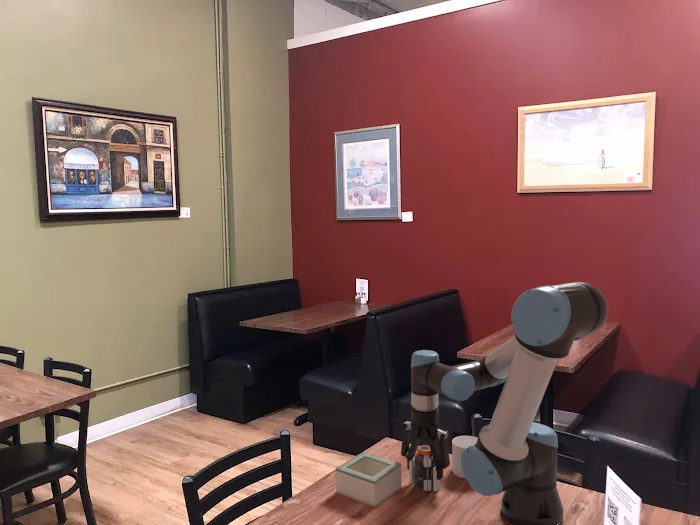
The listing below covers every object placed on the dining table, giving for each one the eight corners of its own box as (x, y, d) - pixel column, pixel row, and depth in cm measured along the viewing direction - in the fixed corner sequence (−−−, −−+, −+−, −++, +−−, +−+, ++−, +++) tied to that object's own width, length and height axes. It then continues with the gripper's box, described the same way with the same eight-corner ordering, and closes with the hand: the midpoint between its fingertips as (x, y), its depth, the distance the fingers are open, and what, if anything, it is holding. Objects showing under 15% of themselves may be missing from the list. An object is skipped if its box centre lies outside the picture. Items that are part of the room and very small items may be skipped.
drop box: (401, 487, 161) (401, 463, 160) (374, 507, 151) (374, 481, 150) (364, 474, 169) (363, 451, 168) (336, 492, 159) (335, 468, 158)
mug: (485, 480, 165) (486, 448, 164) (453, 479, 165) (453, 448, 164) (479, 461, 177) (479, 431, 176) (449, 460, 177) (449, 431, 176)
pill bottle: (435, 492, 158) (435, 453, 157) (413, 490, 159) (413, 451, 158) (436, 482, 164) (436, 444, 162) (415, 480, 165) (415, 442, 164)
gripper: (463, 410, 156) (463, 490, 158) (401, 395, 168) (402, 470, 170) (450, 418, 150) (450, 502, 152) (387, 403, 162) (387, 480, 165)
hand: (424, 485), depth 161 cm, fingers open, 7 cm apart
